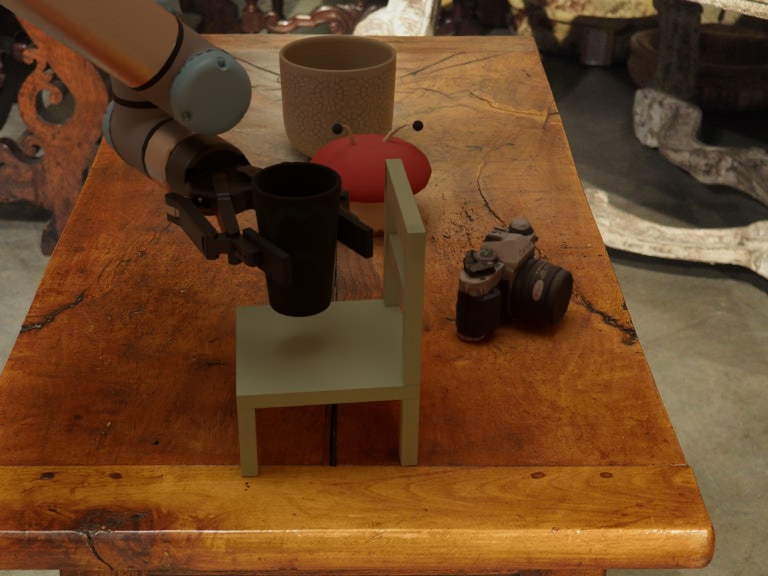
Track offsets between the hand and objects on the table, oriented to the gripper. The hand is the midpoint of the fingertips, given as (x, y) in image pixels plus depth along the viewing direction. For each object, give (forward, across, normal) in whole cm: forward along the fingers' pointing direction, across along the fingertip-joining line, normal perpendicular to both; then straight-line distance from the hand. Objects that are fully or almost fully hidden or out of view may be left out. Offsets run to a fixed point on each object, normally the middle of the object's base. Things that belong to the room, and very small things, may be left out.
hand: (329, 257), depth 90 cm
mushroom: (-36, -30, -20) cm, 51 cm away
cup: (-5, 0, -7) cm, 8 cm away
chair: (-4, -2, -20) cm, 21 cm away
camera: (-7, -30, -21) cm, 37 cm away
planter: (-58, -41, -21) cm, 74 cm away
